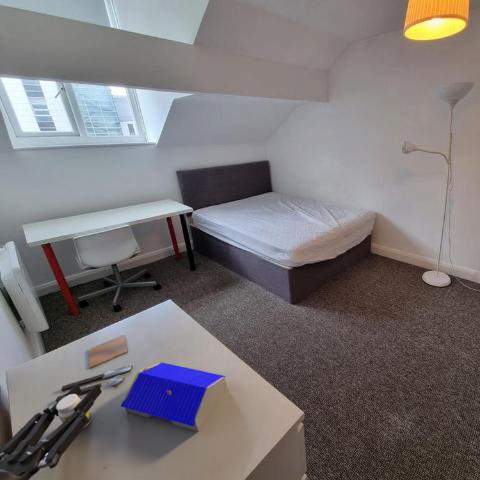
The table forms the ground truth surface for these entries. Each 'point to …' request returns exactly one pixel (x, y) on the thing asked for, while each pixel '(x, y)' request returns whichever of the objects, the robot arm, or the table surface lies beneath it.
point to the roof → (174, 394)
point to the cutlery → (113, 382)
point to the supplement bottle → (69, 407)
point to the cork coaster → (107, 351)
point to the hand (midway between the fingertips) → (88, 388)
